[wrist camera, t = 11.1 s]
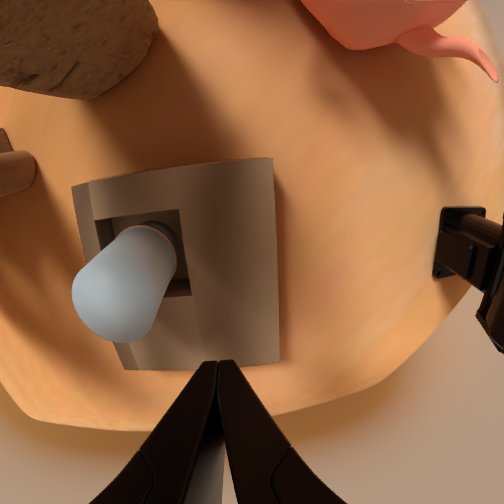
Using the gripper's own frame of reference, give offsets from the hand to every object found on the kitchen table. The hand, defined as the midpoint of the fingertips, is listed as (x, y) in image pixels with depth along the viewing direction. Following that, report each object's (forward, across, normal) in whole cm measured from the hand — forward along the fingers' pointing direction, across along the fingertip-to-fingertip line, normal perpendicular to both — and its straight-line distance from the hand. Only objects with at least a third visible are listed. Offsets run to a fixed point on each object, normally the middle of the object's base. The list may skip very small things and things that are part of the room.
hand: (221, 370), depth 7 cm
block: (+13, +8, -16) cm, 22 cm away
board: (+12, +3, +2) cm, 13 cm away
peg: (+12, +5, 0) cm, 13 cm away
